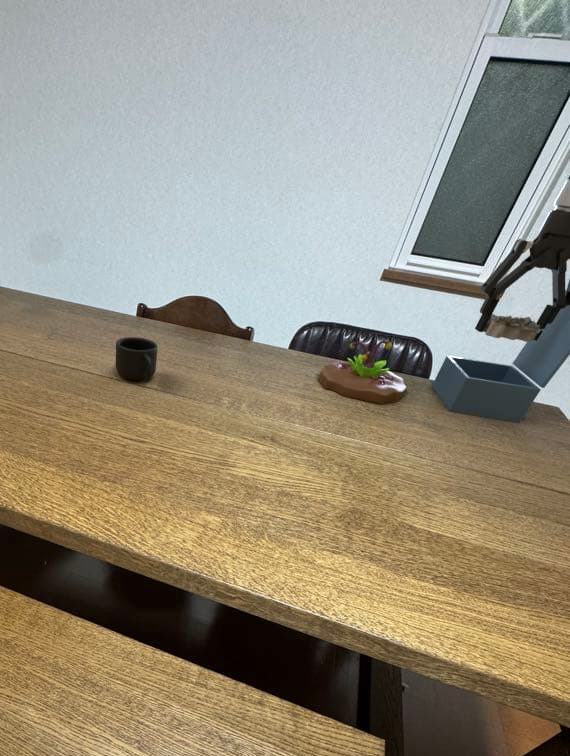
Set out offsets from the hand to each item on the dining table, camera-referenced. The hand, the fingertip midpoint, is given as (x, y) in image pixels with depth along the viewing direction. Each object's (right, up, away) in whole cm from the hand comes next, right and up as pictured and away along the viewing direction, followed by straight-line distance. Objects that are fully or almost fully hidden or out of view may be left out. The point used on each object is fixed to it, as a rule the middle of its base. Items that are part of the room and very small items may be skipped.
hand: (505, 334), depth 99 cm
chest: (0, -12, +11) cm, 16 cm away
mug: (-81, -9, +2) cm, 81 cm away
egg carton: (0, 0, 0) cm, 0 cm away
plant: (-27, -7, +12) cm, 30 cm away
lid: (+10, -1, -1) cm, 10 cm away
